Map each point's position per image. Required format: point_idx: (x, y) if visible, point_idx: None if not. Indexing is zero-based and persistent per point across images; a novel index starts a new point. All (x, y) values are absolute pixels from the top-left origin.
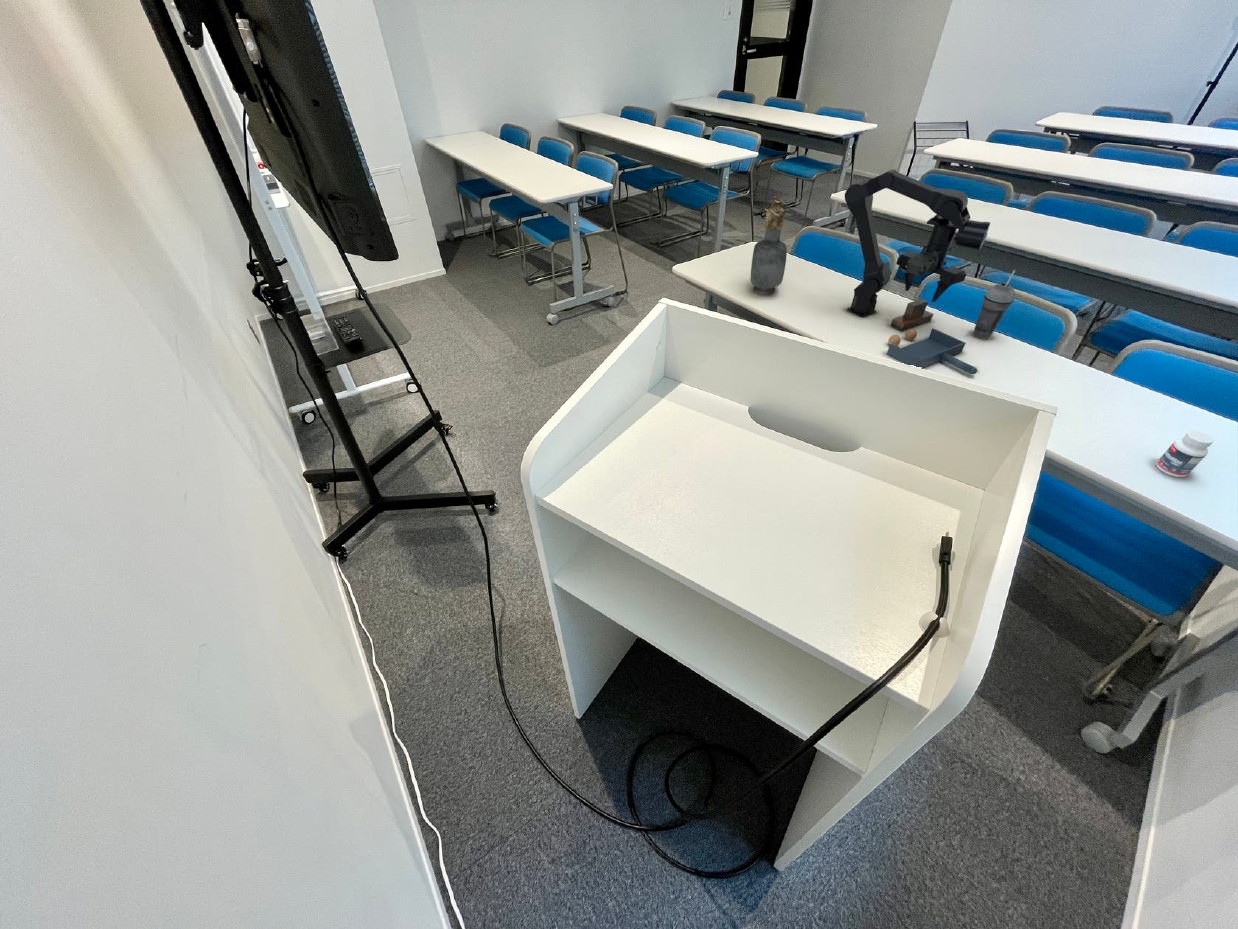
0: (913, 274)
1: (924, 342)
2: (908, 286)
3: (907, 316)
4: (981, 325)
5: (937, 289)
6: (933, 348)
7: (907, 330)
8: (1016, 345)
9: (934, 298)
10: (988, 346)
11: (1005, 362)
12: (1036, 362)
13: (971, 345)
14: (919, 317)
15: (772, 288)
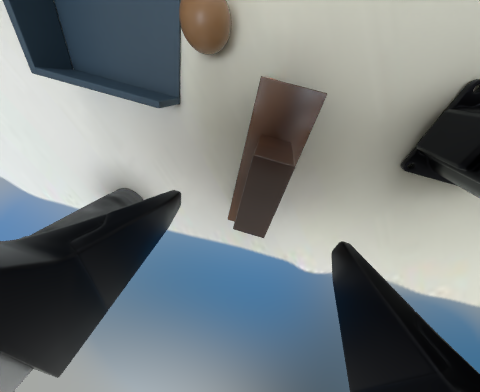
0: (371, 372)
1: (163, 45)
2: (347, 265)
3: (274, 140)
4: (101, 203)
5: (94, 231)
6: (115, 17)
7: (219, 5)
8: (78, 199)
9: (155, 196)
10: (88, 164)
11: (12, 110)
12: (11, 156)
13: (102, 143)
14: (244, 176)
15: None
